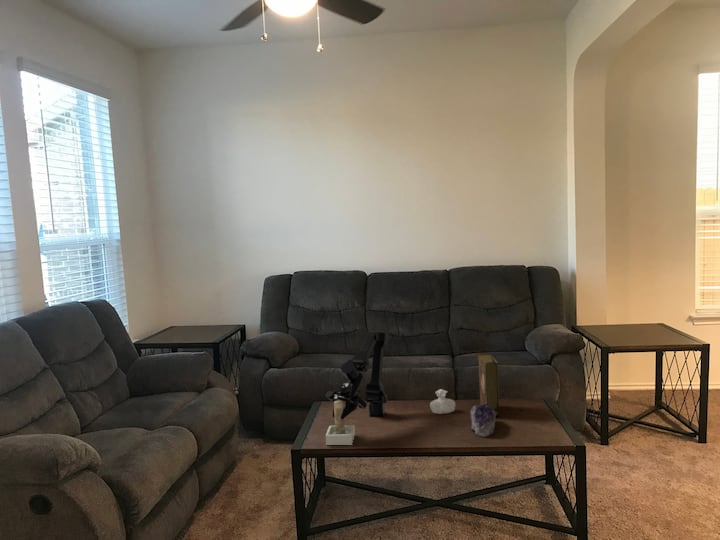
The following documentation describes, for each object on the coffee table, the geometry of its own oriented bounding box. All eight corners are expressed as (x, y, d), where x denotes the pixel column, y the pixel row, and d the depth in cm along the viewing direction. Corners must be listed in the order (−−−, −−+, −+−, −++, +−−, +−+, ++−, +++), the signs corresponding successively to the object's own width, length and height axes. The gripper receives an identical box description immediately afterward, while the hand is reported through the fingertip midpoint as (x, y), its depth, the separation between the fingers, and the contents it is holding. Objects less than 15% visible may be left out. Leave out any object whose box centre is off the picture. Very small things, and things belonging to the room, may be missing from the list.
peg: (346, 431, 224) (344, 400, 223) (343, 434, 220) (341, 403, 219) (337, 430, 225) (335, 400, 224) (334, 434, 222) (332, 403, 220)
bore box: (354, 435, 228) (354, 425, 227) (352, 445, 217) (351, 435, 217) (330, 436, 229) (329, 425, 228) (326, 446, 218) (325, 435, 218)
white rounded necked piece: (455, 415, 251) (450, 392, 258) (458, 409, 245) (453, 386, 251) (430, 417, 250) (426, 394, 257) (432, 412, 244) (428, 388, 250)
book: (479, 405, 256) (477, 354, 254) (491, 405, 256) (489, 353, 254) (487, 418, 240) (485, 363, 238) (499, 417, 239) (497, 362, 238)
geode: (501, 438, 217) (496, 415, 216) (472, 441, 219) (468, 418, 218) (497, 418, 236) (494, 397, 236) (471, 421, 239) (467, 400, 238)
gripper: (327, 372, 230) (310, 404, 222) (360, 378, 218) (344, 412, 210) (340, 385, 236) (324, 417, 229) (373, 391, 225) (358, 425, 217)
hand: (337, 418), depth 221 cm, fingers closed on peg, 4 cm apart
